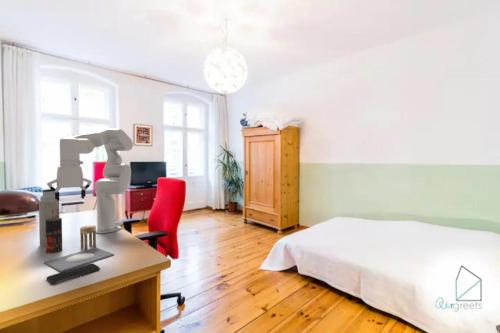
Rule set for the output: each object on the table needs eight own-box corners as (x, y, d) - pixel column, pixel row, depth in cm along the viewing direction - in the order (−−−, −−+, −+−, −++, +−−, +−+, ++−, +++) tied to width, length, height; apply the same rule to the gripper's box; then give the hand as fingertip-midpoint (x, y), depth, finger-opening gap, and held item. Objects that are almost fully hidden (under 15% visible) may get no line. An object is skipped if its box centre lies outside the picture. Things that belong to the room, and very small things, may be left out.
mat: (95, 248, 117) (95, 247, 117) (113, 255, 109) (113, 253, 109) (44, 263, 100) (44, 261, 100) (60, 272, 92) (60, 270, 92)
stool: (92, 244, 124) (91, 224, 123) (98, 246, 120) (98, 226, 120) (77, 248, 118) (77, 227, 118) (84, 250, 115) (83, 229, 115)
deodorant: (65, 249, 116) (64, 218, 116) (51, 254, 110) (51, 221, 110) (56, 248, 118) (56, 217, 118) (43, 252, 112) (42, 220, 112)
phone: (100, 268, 94) (51, 283, 82) (100, 271, 94) (52, 286, 82) (92, 262, 99) (45, 276, 87) (92, 265, 99) (45, 279, 87)
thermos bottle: (63, 242, 127) (62, 188, 127) (48, 247, 119) (47, 190, 119) (51, 241, 129) (50, 188, 128) (35, 246, 121) (34, 190, 120)
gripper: (89, 163, 125) (90, 196, 125) (45, 164, 113) (46, 200, 113) (92, 163, 120) (93, 198, 120) (47, 164, 108) (48, 202, 108)
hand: (70, 199), depth 117 cm, fingers open, 9 cm apart
